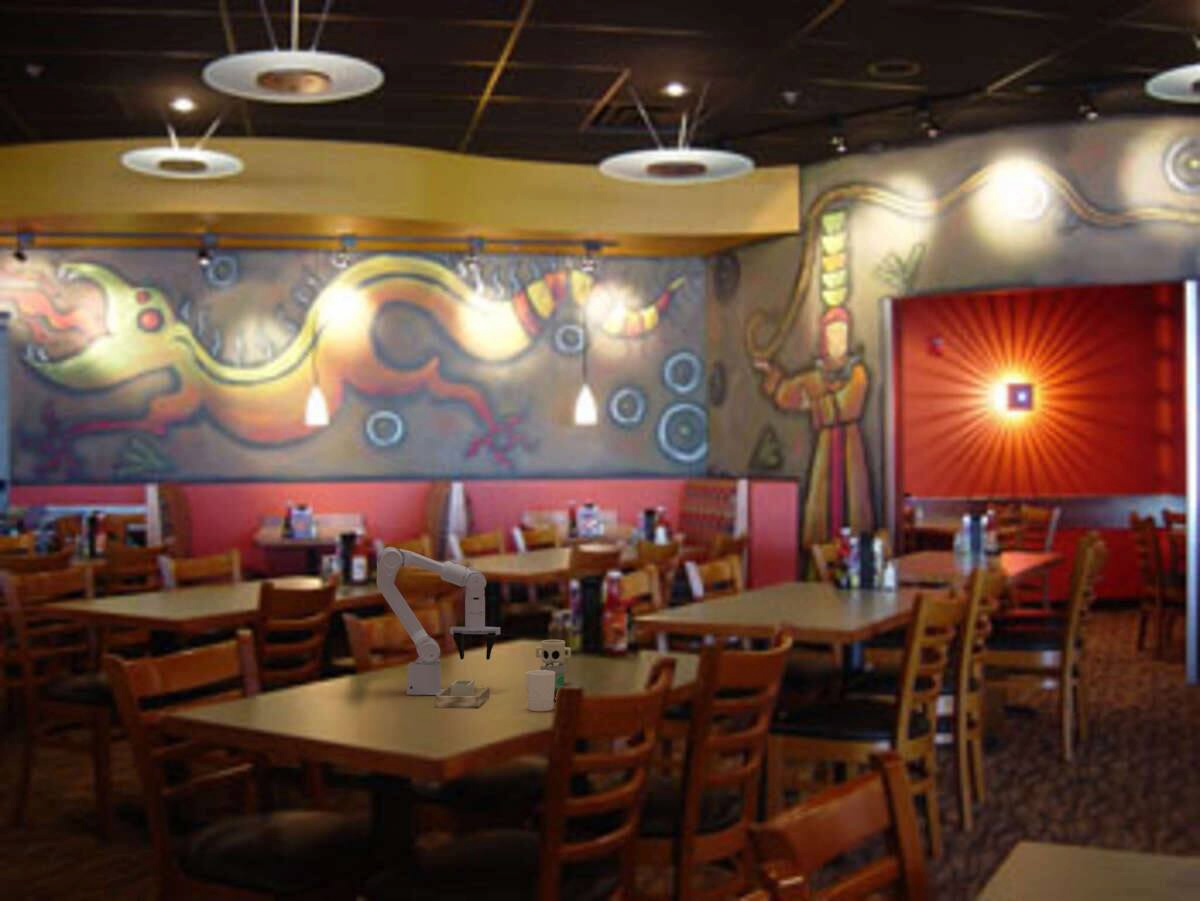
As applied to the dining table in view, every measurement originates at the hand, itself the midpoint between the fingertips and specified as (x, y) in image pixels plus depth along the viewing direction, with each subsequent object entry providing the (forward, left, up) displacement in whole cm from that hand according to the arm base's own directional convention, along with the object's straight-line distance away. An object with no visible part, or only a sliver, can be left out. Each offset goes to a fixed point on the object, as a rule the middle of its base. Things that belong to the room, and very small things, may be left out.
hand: (475, 659), depth 406 cm
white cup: (+23, -26, -10) cm, 36 cm away
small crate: (0, -18, -9) cm, 20 cm away
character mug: (+21, +14, -10) cm, 27 cm away
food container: (+25, -10, -10) cm, 29 cm away
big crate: (0, -18, -9) cm, 20 cm away
